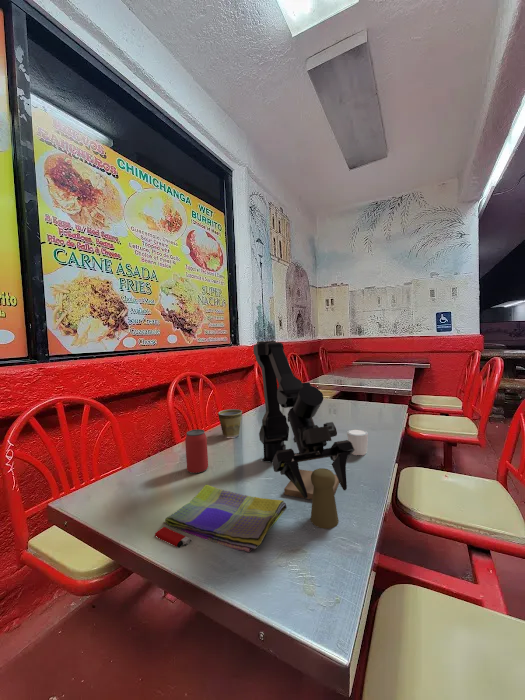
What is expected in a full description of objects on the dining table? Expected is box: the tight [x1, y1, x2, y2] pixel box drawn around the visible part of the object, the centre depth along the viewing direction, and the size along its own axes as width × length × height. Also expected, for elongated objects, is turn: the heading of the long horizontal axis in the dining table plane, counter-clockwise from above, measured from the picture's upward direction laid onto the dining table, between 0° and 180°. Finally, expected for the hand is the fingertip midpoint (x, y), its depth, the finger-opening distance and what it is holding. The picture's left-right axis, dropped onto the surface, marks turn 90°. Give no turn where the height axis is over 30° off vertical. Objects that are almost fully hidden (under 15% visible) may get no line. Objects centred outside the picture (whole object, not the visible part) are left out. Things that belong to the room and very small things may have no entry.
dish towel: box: [162, 484, 288, 553], centre depth 69 cm, size 18×24×3 cm
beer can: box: [184, 428, 209, 474], centre depth 95 cm, size 7×7×12 cm
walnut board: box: [283, 468, 340, 501], centre depth 80 cm, size 12×12×2 cm
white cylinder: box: [346, 428, 369, 456], centre depth 102 cm, size 7×7×7 cm
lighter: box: [154, 526, 192, 549], centre depth 62 cm, size 3×1×8 cm
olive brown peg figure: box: [310, 467, 339, 530], centre depth 66 cm, size 6×6×11 cm
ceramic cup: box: [217, 408, 243, 438], centre depth 128 cm, size 13×10×10 cm
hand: (326, 493), depth 65 cm, fingers open, 9 cm apart
